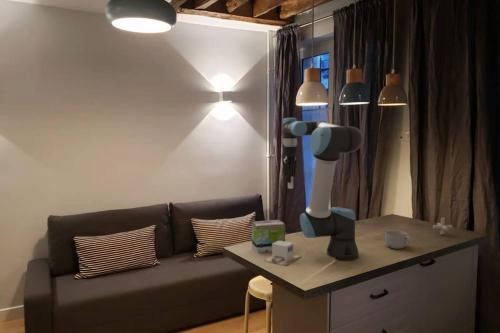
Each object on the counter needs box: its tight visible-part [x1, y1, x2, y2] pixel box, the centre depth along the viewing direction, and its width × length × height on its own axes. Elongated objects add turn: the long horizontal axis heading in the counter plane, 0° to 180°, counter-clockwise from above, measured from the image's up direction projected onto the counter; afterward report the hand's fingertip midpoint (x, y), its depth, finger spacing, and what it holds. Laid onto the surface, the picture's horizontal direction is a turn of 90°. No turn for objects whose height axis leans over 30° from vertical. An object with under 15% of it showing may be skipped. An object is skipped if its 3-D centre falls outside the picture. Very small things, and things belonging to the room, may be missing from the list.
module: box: [271, 241, 294, 261], centre depth 182 cm, size 8×6×7 cm
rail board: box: [263, 251, 302, 267], centre depth 182 cm, size 12×14×3 cm
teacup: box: [384, 229, 412, 250], centre depth 198 cm, size 14×11×8 cm
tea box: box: [251, 219, 286, 254], centre depth 198 cm, size 15×10×15 cm
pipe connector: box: [432, 217, 453, 235], centre depth 218 cm, size 10×10×10 cm
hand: (290, 188), depth 217 cm, fingers closed
